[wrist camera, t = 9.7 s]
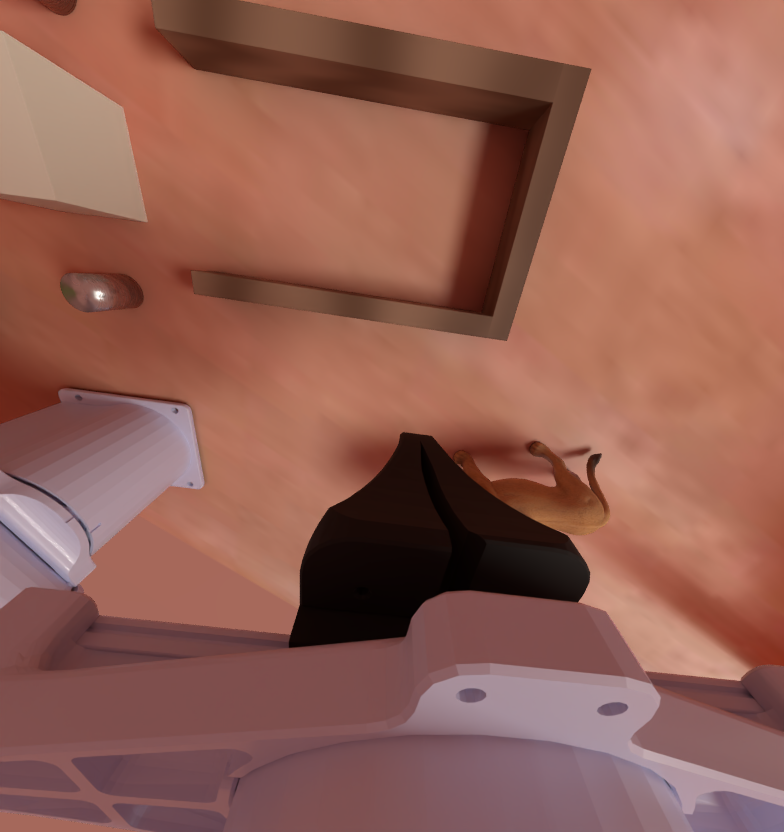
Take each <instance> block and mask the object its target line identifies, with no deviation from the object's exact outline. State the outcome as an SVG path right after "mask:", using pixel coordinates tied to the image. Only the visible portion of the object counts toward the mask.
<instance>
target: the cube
mask: <svg viewBox="0 0 784 832" xmlns="http://www.w3.org/2000/svg"><path fill="white" fill-rule="evenodd" d="M0 199H5V200H10V201H15V202H19V203H24V204H29V205H33V206H38V207H43V208H48V209H52V210H57V211H62V212H70V213H78V214H86V215H93V216H101V217H109V218H117V219H124V220H132V221H140V222H148V221H147V217H146V212H145V207H144V203H143V198H142V194H141V189H140V184H139V180H138V175H137V170H136V166H135V161H134V156H133V152H132V147H131V142H130V138H129V133H128V128H127V124H126V119H125V114H124V110H123V107H121V106H120V105H118V104H117V103H115V102H114V101H112V100H110V99H109V98H107V97H106V96H104V95H103V94H101V93H99V92H98V91H96V90H95V89H93V88H92V87H90V86H88V85H87V84H85V83H84V82H82V81H80V80H79V79H77V78H76V77H74V76H73V75H71V74H69V73H68V72H66V71H65V70H63V69H62V68H60V67H58V66H57V65H55V64H54V63H52V62H51V61H49V60H47V59H46V58H44V57H43V56H41V55H40V54H38V53H36V52H35V51H33V50H32V49H30V48H29V47H27V46H25V45H24V44H22V43H21V42H19V41H18V40H16V39H14V38H13V37H11V36H10V35H8V34H7V33H5V32H3V31H0Z"/></svg>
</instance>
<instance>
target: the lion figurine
mask: <svg viewBox="0 0 784 832" xmlns="http://www.w3.org/2000/svg"><path fill="white" fill-rule="evenodd" d="M530 453H531V454H532V455H533V456H536V457H543V458H545V459H547V460H548V461H549V462H550V463H551V464H552V466H553V470H554V477H555V481H556V486H555V487H548V486H545V485H542V484H539V483H537V482H533V481H530V480H526V479H518V478H508V479H501V480H496V481H492V482H490V480H489V479H488V478H486V477H485V476H484V475H483V474H482V473H481V472H480V470H479V469H478V467H477V466H476V464H475V462H474V461H473V459H472V457H471V456H470V455H469V454H468V453H466V452H465V451H462V450H460V451H458V452H456V453H455V455H454V461H455V463H456V464H461V466H462V467H463V471H464V472H465V473H466V474H467V475H468V476H469V477H471V478H472V479H473V480H474V481H475V482H476V483H478V484H479V485H480V486H481V487H483V488H484V489H485V490H487V491H488V492H489V493H491V494H492V495H494V496H495V497H497V498H498V499H500V500H501V501H503V502H504V503H506V504H507V505H509V506H510V507H512V508H514V509H515V510H517V511H519V512H521V513H523V514H524V515H526V516H528V517H530V518H532V519H534V520H536V521H537V522H540V523H542V524H544V525H546V526H548V527H550V528H553V529H556V530H560V531H563V532H566V533H569V534H573V535H587V534H590V533H593V532H594V531H596V530H597V529H598V528H600V527H603V526H604V525H606V524H607V522H608V520H609V518H610V510H609V506H608V503H607V501H606V499H605V497H604V495H603V493H602V491H601V489H600V487H599V485H598V483H597V480H596V478H595V467H596V465H597V464H598V463H599V461H600V458H601V456H602V454H601V453H600V454H593V455H591V456H590V458H589V459H588V462H587V477H588V481H589V485H590V487H591V489H590V488H589V487H588V486H587V485H585V484H584V483H583V482H582V481H581V480H580V478H579V477H578V475H576V474H575V473H573V472H571V471H568V470H567V469H566V466H565V463H564V461H563V460H562V459H560V458H559V457H558V456H556V455H555V454H554V453H553V452H551V450H550V449H549V448H548V447H547V446H545V445H544V444H542V443H539V442H536V443H534V444H532V445H531V448H530Z"/></svg>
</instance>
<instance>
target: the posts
mask: <svg viewBox="0 0 784 832" xmlns="http://www.w3.org/2000/svg"><path fill="white" fill-rule="evenodd" d="M39 1H40V2H41V3H42V4H44V5H45V6H46V7H48V8H49V9H50V10H51V11H53V12H55V13H57V14H60V15H67V14H70V13H71V12H72V11H73V10H74V8H75V6H76V2H77V0H39ZM60 287H61V291H62V293H63V295H64V297H65V298H66V300H67V301H68V302H69V303H70V304H71V305H72V306H73V307H75V308H76V309H78V310H80V311H83V312H98V311H108V310H118V309H128V308H136V307H139V306H140V305H141V304H142V302H143V293H142V290H141V288H140V286H139V285H138V283H137V282H136V281H135V280H134V279H132V278H131V277H129V276H127V275H123V274H91V273H68V274H65V275H64V276H63V277H62V278H61V282H60Z"/></svg>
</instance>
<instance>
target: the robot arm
mask: <svg viewBox="0 0 784 832" xmlns="http://www.w3.org/2000/svg"><path fill="white" fill-rule="evenodd" d="M58 395H59V398H60V401H61V403H58V404H55V405H52V406H49V407H47V408H44V409H41V410H38V411H35V412H33V413H30V414H27V415H24V416H21V417H19V418H16V419H13V420H10V421H7V422H5V423H2V424H0V812H7V813H16V814H23V815H32V816H39V817H46V818H53V819H60V820H67V821H74V822H81V823H87V824H93V825H100V826H106V827H113V828H119V829H126V830H133V831H139V832H784V666H778V665H762V666H758V667H755V668H753V669H752V670H750V671H748V672H747V673H746V674H745V675H744V676H743V677H742V678H741V681H735V680H725V679H716V678H706V677H696V676H686V675H677V674H667V673H657V672H647V671H644V670H643V668H642V667H641V665H640V663H639V662H638V660H637V659H636V657H635V655H634V654H633V652H632V651H631V649H630V648H629V646H628V644H627V643H626V641H625V640H624V638H623V637H622V635H621V633H620V632H619V630H618V629H617V627H616V625H615V624H614V622H613V621H612V620H611V618H610V617H609V615H608V614H607V613H606V612H605V611H603V610H600V609H597V608H594V607H591V606H588V605H585V604H582V603H578V602H579V600H580V599H581V597H582V596H583V594H584V593H585V591H586V588H587V586H588V584H589V582H590V571H589V568H588V566H587V564H586V562H585V561H584V559H583V558H582V556H581V555H580V553H579V552H578V550H577V549H576V547H575V546H574V544H573V543H572V541H571V540H570V538H569V537H568V536H567V535H565V534H563V533H561V532H559V531H557V530H555V529H553V528H550V527H548V526H546V525H544V524H542V523H540V522H537V521H536V520H534V519H532V518H530V517H528V516H526V515H524V514H523V513H521V512H519V511H517V510H515V509H514V508H512V507H510V506H509V505H507V504H506V503H504V502H503V501H501V500H500V499H498V498H497V497H495V496H494V495H492V494H491V493H489V492H488V491H487V490H485V489H484V488H483V487H481V486H480V485H479V484H478V483H476V482H475V481H474V480H473V479H472V478H471V477H469V476H468V475H467V474H466V473H465V472H464V471H463V470H462V469H461V468H460V467H459V466H458V465H457V464H456V463H455V462H454V461H453V460H452V459H451V458H450V457H449V456H448V454H447V453H446V452H445V451H444V450H443V449H442V447H441V446H440V445H439V444H438V443H437V441H436V440H435V439H434V438H433V437H432V436H428V435H420V434H413V433H405V432H403V433H402V434H400V439H399V444H398V446H397V448H396V450H395V452H394V454H393V455H392V457H391V458H390V460H389V461H388V463H387V464H386V465H385V467H384V468H383V469H382V470H381V471H380V472H379V474H378V475H377V476H376V477H375V478H374V479H372V480H371V481H370V482H369V483H368V484H367V485H366V486H365V487H363V488H362V489H361V490H359V491H358V492H356V493H355V494H354V495H352V496H351V497H349V498H348V499H346V500H344V501H342V502H340V503H338V504H336V505H334V506H332V507H330V508H329V509H328V510H327V512H326V513H325V515H324V516H323V518H322V519H321V521H320V522H319V524H318V526H317V527H316V529H315V531H314V533H313V535H312V537H311V539H310V541H309V543H308V545H307V548H306V551H305V554H304V557H303V560H302V564H301V569H300V606H299V609H298V612H297V616H296V619H295V623H294V625H293V629H292V632H291V635H286V634H277V633H267V632H257V631H248V630H238V629H228V628H218V627H209V626H199V625H189V624H179V623H169V622H160V621H150V620H140V619H130V618H121V617H111V616H101V615H99V613H98V609H97V605H96V603H95V601H94V600H93V599H92V598H91V597H89V596H87V595H86V594H84V590H83V588H82V586H81V585H80V584H79V583H80V582H81V581H82V580H83V579H84V578H85V577H86V576H87V575H88V574H89V573H91V572H92V571H93V570H94V569H95V568H96V564H95V563H94V562H93V561H92V559H91V556H92V555H93V554H94V553H95V552H96V551H97V550H99V549H100V548H101V547H102V546H103V545H104V544H105V543H106V542H108V541H109V540H110V539H111V538H112V537H113V536H114V535H116V534H117V533H118V532H119V531H120V530H121V529H122V528H123V527H124V526H126V525H127V524H128V523H129V522H130V521H131V520H132V519H133V518H135V517H136V516H137V515H138V514H139V513H140V512H141V511H142V510H144V509H145V508H146V507H147V506H148V505H149V504H150V503H151V502H153V501H154V500H155V499H156V498H157V497H158V496H159V495H160V494H162V493H163V492H164V491H165V490H166V489H167V488H168V487H169V486H177V487H185V488H193V489H201V488H202V487H203V486H204V478H203V472H202V466H201V461H200V455H199V450H198V444H197V438H196V433H195V427H194V422H193V416H192V411H191V408H190V407H189V406H188V405H186V404H182V403H175V402H167V401H160V400H153V399H145V398H138V397H130V396H123V395H115V394H108V393H100V392H93V391H86V390H78V389H71V388H64V389H61V390H59V391H58ZM175 408H177V409H178V411H177V410H176V409H175ZM191 482H192V483H191Z"/></svg>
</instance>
